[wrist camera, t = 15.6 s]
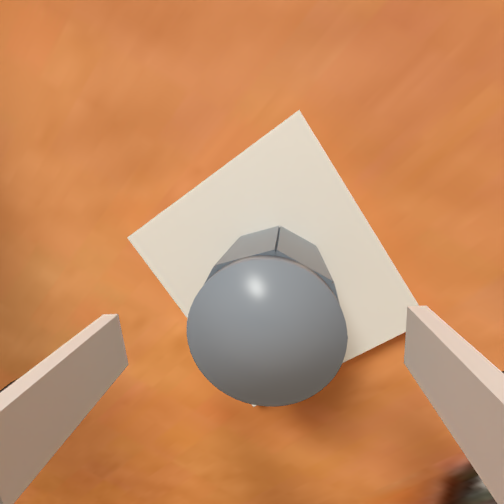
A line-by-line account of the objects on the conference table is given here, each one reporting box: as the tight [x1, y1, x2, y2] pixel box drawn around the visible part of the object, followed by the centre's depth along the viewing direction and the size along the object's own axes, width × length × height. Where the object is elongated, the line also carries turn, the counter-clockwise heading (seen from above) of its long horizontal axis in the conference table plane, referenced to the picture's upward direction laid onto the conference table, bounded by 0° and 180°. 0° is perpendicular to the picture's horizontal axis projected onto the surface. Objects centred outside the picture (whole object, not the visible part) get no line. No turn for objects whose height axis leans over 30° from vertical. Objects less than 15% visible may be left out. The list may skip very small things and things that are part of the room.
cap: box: [187, 226, 348, 406], centre depth 18 cm, size 8×8×9 cm
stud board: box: [127, 110, 419, 407], centre depth 20 cm, size 18×16×8 cm
